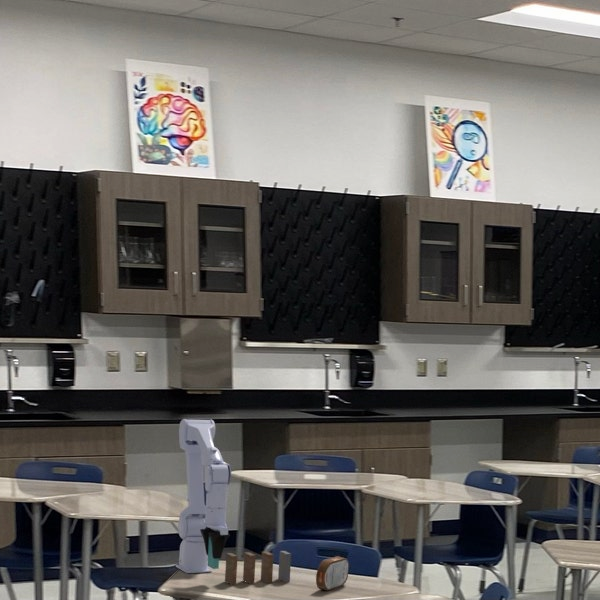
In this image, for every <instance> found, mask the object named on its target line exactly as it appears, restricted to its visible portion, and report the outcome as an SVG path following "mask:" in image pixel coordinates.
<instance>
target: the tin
mask: <svg viewBox="0 0 600 600" xmlns="http://www.w3.org/2000/svg"><path fill="white" fill-rule="evenodd" d="M349 569H350V563H349V560H348V559H347V558H345V557H341V556H340V555H337V556H333V557H330V558H329V557H328V558H326V559H323V560H322V561H321V562H320V563H319V565H318V568H317V570H316V574H315V575H316V576H315V582H316V583H315V584H316V587H317V588H318V589H319V590H323V591H327V592H328V591H332V590H334V589H338V588H341V587H343V586H344V585H345V584H346V583H347V580H348V577H349Z"/></svg>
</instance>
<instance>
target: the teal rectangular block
mask: <svg viewBox="0 0 600 600" xmlns="http://www.w3.org/2000/svg"><path fill="white" fill-rule="evenodd" d="M219 565H220V558H218V559H214V558H213V556H212V544H211V540H210V537H209V545H208V560H207V567H209V568H211V570H214V569H215V570H216V569H217V570H218V569H219Z"/></svg>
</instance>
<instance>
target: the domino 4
mask: <svg viewBox="0 0 600 600" xmlns="http://www.w3.org/2000/svg"><path fill="white" fill-rule="evenodd" d="M291 563H292V553H290V552H288V551H286V550H279V557H278V573H277V574H278V575H277V576H278V577H277V579H278V580H279V579H280V580H279V581H281V580H282V581H281V582H283V583H291V582H290V581H291V566H292V565H291Z"/></svg>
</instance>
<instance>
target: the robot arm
mask: <svg viewBox="0 0 600 600" xmlns="http://www.w3.org/2000/svg"><path fill="white" fill-rule="evenodd" d="M215 435H216V424H215V421H214V420H213V419H211V418H210V419H186V418H183V419H181V421H180V422H179V428H178V441H179V443H178V444H179V449H181V450H183V451H184V454H185V460H186V463H185V464H186V483H187V503H188V504H187V505H188V506H186V508H184V509H183V510H182V511H181V512H180V514H179V517H178V518H179V520H178V535H179V537H180V539H182V541H181V543H180V545H179V560H178V564H177V565H175V567H176V568H177V569H179V570H181V571H182V572H184V573H185V574H197V573H199V574H200V573H201V574H202V573H212V572H213V569H210V567H209V568H208V566H207V564H208V545H209V537H210V540H211V544H212V556H213V558H214V559H218V558H219V559H221V558H222V555H223V552H224V548H225V546H226V543H227V541H228V539H229V538H230V533H229V527H228V526H227V523H226V521H227V519H226V518H227V502H228V501H227V499H228V485H230V483H231V481H232V480H231V479H232V469H231V465H230V464H229V463H227V462H225V461H224V459H223V457H222V453H221V452H220V450H219V449H218V448H217V447H216V446H215V444H214V439H215ZM203 468H204V469H203ZM203 471H204V472H203ZM204 487H205V489H204ZM204 490H205V491H206V498H205V491H204ZM205 499H206V500H205Z"/></svg>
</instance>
